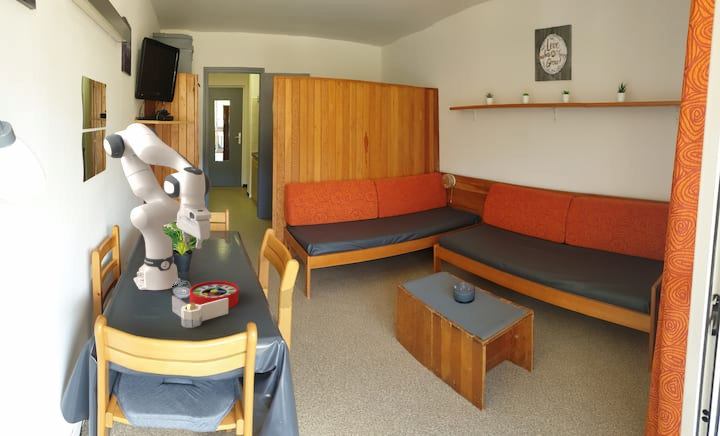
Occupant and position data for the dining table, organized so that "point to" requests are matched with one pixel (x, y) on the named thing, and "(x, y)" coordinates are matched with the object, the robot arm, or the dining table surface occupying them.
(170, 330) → the dining table surface
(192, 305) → the hinge pin
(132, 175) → the robot arm
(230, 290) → the toy clock
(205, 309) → the hinge leaf
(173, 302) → the hinge leaf
